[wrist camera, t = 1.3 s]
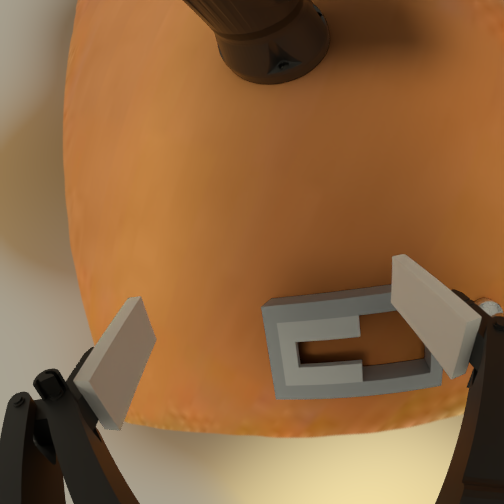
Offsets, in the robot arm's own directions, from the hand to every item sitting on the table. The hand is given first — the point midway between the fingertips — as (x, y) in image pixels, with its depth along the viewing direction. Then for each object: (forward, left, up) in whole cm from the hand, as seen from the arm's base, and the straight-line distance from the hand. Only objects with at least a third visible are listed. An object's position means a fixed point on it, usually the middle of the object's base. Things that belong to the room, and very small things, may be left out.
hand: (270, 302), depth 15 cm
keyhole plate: (+6, +8, -21) cm, 23 cm away
